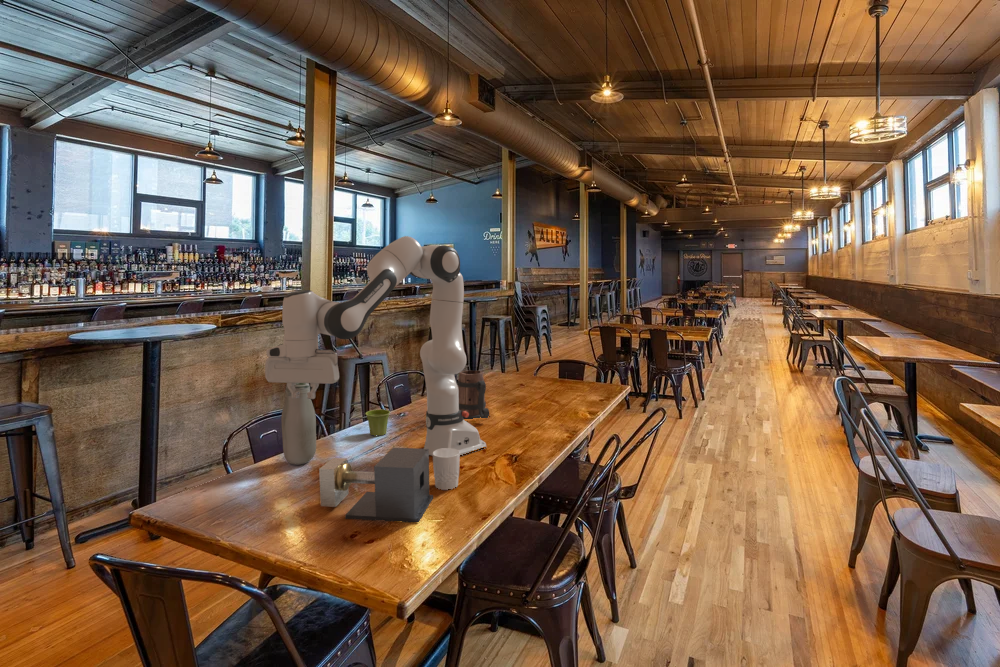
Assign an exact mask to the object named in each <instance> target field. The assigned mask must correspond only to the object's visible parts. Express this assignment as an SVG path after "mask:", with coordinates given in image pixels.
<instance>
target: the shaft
mask: <svg viewBox="0 0 1000 667" xmlns="http://www.w3.org/2000/svg"><path fill="white" fill-rule="evenodd" d="M318 471H319V474H318V477H319V495H320V496H319V497H320V507H329V508H330V507H332V508H335V507H337V506H338V505H339V504H340V503H341V502H342V501H343V500H344V499H346V497H347V496H348V495H349V492H350V491H349V488H350V486H351V484H360V485H361V484H363V485H365V484H366V485H375V475H374V471H355V470H353V468H352V465H351V463H349V462H348V458H345V457H342V458H341V457H333V458H332V459H330V460H329V461H327V462H326V463H325V464H323V465H322V466H321V467H319V469H318Z"/></svg>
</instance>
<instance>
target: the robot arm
mask: <svg viewBox="0 0 1000 667" xmlns="http://www.w3.org/2000/svg"><path fill="white" fill-rule="evenodd" d="M460 259H461V258H460V255H459V253H458V251H457V250H456V249H455V248H453V247H452V246H448V245H444V244H443V245H442V244H441V245H439V244H429V245H422V246H421V243H419V241H418V240H416V239H415V238H414V237H412V236H409V235H407V236H406V235H404V236H402V237H399V238H397V239H395V240H394V241H392V242H391V243H389V244H388V245H386V246H384V247H383V248H382V249H380V251H379V252H377V253H376V254H375V255H374V256H373V257H372V258H371V260H370V261H369V262H368V264H367V267H366V273H367V277H368V278H369V282H367V284H366V285H365V286H363V288H362V289H360V291H359V292H358V293H357V294H356V295H355V296H354V297H353V298H350V299H349V300H346V301H340V302H337V301H332V300H330V299H327V298H325V297H322V296H320V295H318V294H317V293H315V292H314V291H313V290H310V289H303V290H297V291H296V290H295V291H292V292H289V293H287V294H286V295H284V297H283V302H282V310H281V311H282V312H281V313H282V314H281V315H282V316H281V317H282V325H283V329H284V333H283V334H284V335H283V343H282V344H279V345H276V346H273V347H270V348H267V349H266V350H265V351H266V352H265V353H266V354H265V355H266V356H267V359H266V361H265V365H264V374H265V375H264V377H265V379H266V381H267V382H268V383H281V384H282V383H285V384H286V385H287V387H288V389H289V390H290V392H291V395H292V398H293V399H297V398H299V397H300V395H299V394H300V391H297V390H296V388H295V387H294V385H296V383H309V385H310V392H308V393H307V396H308V397H307V398H308V399H311V400H314V399H316V392H317V389H318V388H319V385H320V384H328V385H329V384H330V385H331V384H332V385H333V384H334V383H335V384H336V382H338V381H339V380H340V371H339V366H338V365H339V364H338V360H339V359H338V358H339V357H338V354H337V353H336V352H335V351H333V349H320V348H319V337H318V336H319V335H320V334H323V335H327V336H331V337H335V338H337V339H339V340H349V339H350V340H351V339H354V338H356V337H357V336H358V335H359V334H360V333H361V332H362V330H363V328H364V326H365V325H366V322H367V320H368V318H369V317H370V316H371V314H372V313H373V312H374V311H375V310H376V309H377V307H378V306H379V305H381V303H383V301H384V300H385V299H387V297H388V296H389V295H390V293H391V292H392V291H393V290H394V289H395V287H397V286H398V285H399V284H400V283H401V282H402V281H403V280H405V279H406V278H407V277H408V276H409V275H411V276H412V277H415V278H417V279H418V278H419V279H421V278H422V279H426V280H430V281H431V283H432V291H431V292H432V293H431V300H430V301H431V303H430V312H429V326H430V329H431V339H430V340H428V341H426V342H425V343H423V344H422V346H421V347H420V351H419V356H420V357H419V358H420V359H421V362H422V363H421V364H422V368H423V369H422V370H423V376H424V381H425V386H426V407H427V409H426V411H425V413H426V414H425V423H426V424H425V426H426V435H425V436H426V437H425V443H424V447H423V449H429V456H432V457H433V452H434V451H435V450H438V449H442V448H453V449H457V450H459V451H460V455H462V456H464V455H463V454H466V453H469V452H471V451H474V450H477V449H480V448H483V447H486V448H487V443H486V442H485V441H484V440H482V439H481V437H480V434H479V431H478V429H477V428H476V427H475V426H474V425H472V424H471V423H469V422H467V421H465V420H464V419H463V417H465V418H467V417H468V416H469V413H468V412H466V411H461V410H459V390H458V385H457V380H456V377H455V376H456V375H459V373H460V372H462V371H464V369H465V368H466V365H467V361H468V360H467V355H466V352H465V349H464V348H465V347H464V341H463V331H462V330H463V328H462V325H463V324H462V323H463V310H464V298H465V289H464V288H465V287H464V286H465V285H464V284H465V283H464V277H463V275H462V273H461V260H460ZM469 454H470V453H469ZM466 455H467V454H466Z"/></svg>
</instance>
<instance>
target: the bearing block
mask: <svg viewBox="0 0 1000 667" xmlns="http://www.w3.org/2000/svg"><path fill="white" fill-rule="evenodd" d="M373 468H374V471H373V472H374V475H375V484H374V491H366V492H365V493H364V494H363V495H362V496H361V497H360V498H359V499H358V500H357V502H356V503H354V505H353V506H352V507H351V508H350V509H349V510H348V511H347V513H346V514H345V515H344V516H345V517H344V519H346V520H359V519H362V521H376V520H385V521H384V522H394V521H402V522H401V523H411V522H419V521H420V522H421V520H420V519H422V518H423V517H424V515H425V513H426V511H427V510H426V509H429V508H428V507H429V506H430V505H429V504H431V503H432V501H433V499H434V495H433V494H431V493H430V455H429V449H424V448H418V447H417V448H415V447H414V448H413V447H392V448H391V449H390V450H388V452H386V454H385V455H384V456H383V457H382V458H381V459H380V460H378V462H377V463H376V464H375V465H374V466H373ZM423 514H424V515H423ZM420 522H419V523H420Z"/></svg>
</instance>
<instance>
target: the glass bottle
mask: <svg viewBox="0 0 1000 667" xmlns="http://www.w3.org/2000/svg"><path fill="white" fill-rule="evenodd" d="M294 387H295V388H296V390H297V391H300V394H299V395H300V397H299V398H297V399H293V398H292V395H291V392H290V390H289V389H288V387H287V384H285V388H284V389H285V399H284V404H283V407H282V412H281V419H280V420H281V435H282V436H281V438H282V450H283V457H284V458H285V460H286V461H287V462H288V463H289V464H291V465H295V466H296V465H297V466H300V465H304V464H306V463H308V462H310V461H312V460H313V458H314V456H315V455H316V453H317V452H316V451H317V421H316V420H317V418H316V411H315V407H314V404H313V401H312V399H308V398H307V397H308V396H307V393H308V392H311V386H310V383H296V385H294Z"/></svg>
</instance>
